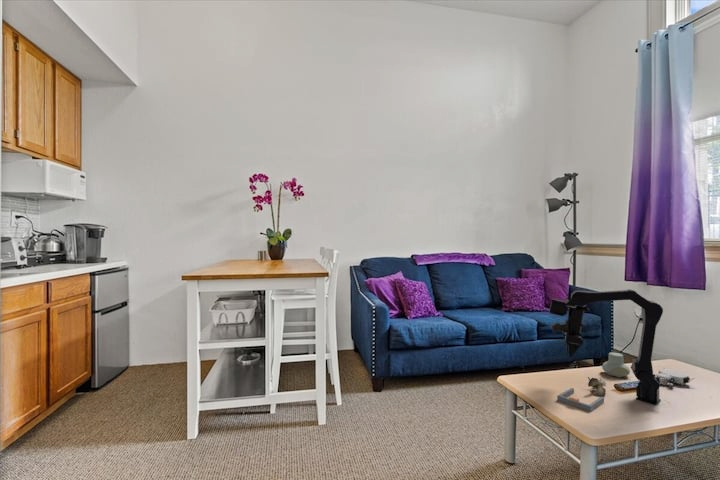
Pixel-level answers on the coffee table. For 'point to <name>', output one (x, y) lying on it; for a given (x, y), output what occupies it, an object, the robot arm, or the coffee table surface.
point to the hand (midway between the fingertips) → (568, 354)
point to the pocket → (576, 403)
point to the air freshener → (616, 365)
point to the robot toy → (672, 377)
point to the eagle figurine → (597, 386)
